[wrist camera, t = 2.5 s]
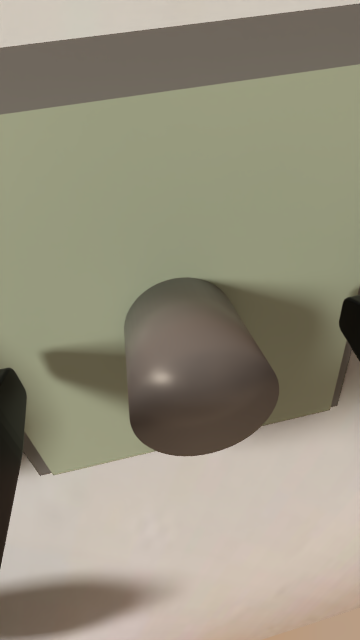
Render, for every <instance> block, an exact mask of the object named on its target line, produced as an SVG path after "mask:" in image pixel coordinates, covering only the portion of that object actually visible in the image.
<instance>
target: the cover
mask: <svg viewBox="0 0 360 640" xmlns="http://www.w3.org/2000/svg"><path fill="white" fill-rule="evenodd" d="M359 287H360V64H358V65H351V66H344V67H336V68H329V69H322V70H315V71H308V72H301V73H294V74H286V75H279V76H272V77H265V78H258V79H251V80H244V81H237V82H229V83H222V84H215V85H208V86H201V87H194V88H187V89H179V90H172V91H165V92H158V93H151V94H144V95H137V96H129V97H122V98H115V99H108V100H101V101H94V102H87V103H80V104H72V105H65V106H58V107H51V108H44V109H37V110H30V111H22V112H15V113H8V114H1V115H0V369H3V368H8V367H9V368H12V369H13V370H14V371H15V372H16V374H17V376H18V377H19V379H20V381H21V383H22V384H23V386H24V388H25V390H26V394H27V404H26V417H25V433H26V434H27V436H28V437H29V439H30V440H31V442H32V443H33V445H34V446H35V448H36V449H37V451H38V453H39V454H40V456H41V457H42V459H43V460H44V462H45V463H46V465H47V466H48V468H49V469H50V471H51V473H52V474H53V475H57V474H61V473H66V472H70V471H74V470H78V469H82V468H87V467H91V466H95V465H99V464H104V463H108V462H112V461H116V460H120V459H125V458H129V457H133V456H137V455H142V454H146V453H150V452H154V451H158V452H161V453H165V454H169V455H175V456H196V455H204V454H209V453H213V452H216V451H220V450H223V449H225V448H228V447H230V446H233V445H235V444H237V443H239V442H240V441H242V440H244V439H246V438H247V437H249V436H250V435H251V434H253V433H254V432H255V431H257V430H258V429H259V428H260V427H261V426H264V425H268V424H273V423H277V422H281V421H285V420H289V419H294V418H298V417H302V416H306V415H311V414H315V413H319V412H323V411H328V410H330V408H331V404H332V399H333V395H334V391H335V387H336V383H337V379H338V374H339V370H340V366H341V362H342V358H343V353H344V349H345V345H346V341H347V340H346V338H345V337H344V335H343V334H342V332H341V330H340V328H339V318H340V314H341V309H342V304H343V301H344V299H345V298H347V297H351V296H356V295H358V291H359Z"/></svg>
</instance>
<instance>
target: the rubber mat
mask: <svg viewBox="0 0 360 640" xmlns="http://www.w3.org/2000/svg"><path fill="white" fill-rule="evenodd" d="M358 64H360V4H353V5H345V6H337V7H329V8H321V9H313V10H304V11H296V12H288V13H280V14H272V15H264V16H256V17H247V18H239V19H231V20H223V21H215V22H207V23H199V24H190V25H182V26H174V27H166V28H158V29H150V30H142V31H133V32H125V33H117V34H109V35H101V36H93V37H85V38H76V39H68V40H60V41H52V42H44V43H36V44H28V45H20V46H11V47H3V48H0V115H1V114H8V113H15V112H22V111H30V110H37V109H44V108H51V107H58V106H65V105H72V104H80V103H87V102H94V101H101V100H108V99H115V98H122V97H129V96H137V95H144V94H151V93H158V92H165V91H172V90H179V89H187V88H194V87H201V86H208V85H215V84H222V83H229V82H237V81H244V80H251V79H258V78H265V77H272V76H279V75H286V74H294V73H301V72H308V71H315V70H322V69H329V68H336V67H344V66H351V65H358ZM358 295H360V287H359V291H358ZM351 350H352V348H351V346H350V345H349V343H348V342H347V341H346V345H345V349H344V353H343V358H342V362H341V366H340V370H339V374H338V379H337V383H336V387H335V391H334V395H333V399H332V404H331V407H333V406H337V405H338V401H339V397H340V393H341V389H342V385H343V381H344V378H345V374H346V370H347V366H348V362H349V358H350V354H351ZM23 452H24V453H25V455H26V456H27V458H28V459H29V461H30V462H31V463H32V465H33V466H34V468H35V469H36V471H37V472H38V473H39V475H40V476H41V475H45V474H49V473H51V471H50V469H49V468H48V466H47V465H46V463H45V462H44V460H43V459H42V457H41V456H40V454H39V453H38V451H37V449H36V448H35V446H34V445H33V443H32V442H31V440H30V439H29V437H28V436H27V434H26V433H25V431H24V444H23Z"/></svg>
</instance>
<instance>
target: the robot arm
mask: <svg viewBox="0 0 360 640" xmlns="http://www.w3.org/2000/svg"><path fill="white" fill-rule="evenodd" d="M339 328H340V330H341V332H342V334H343V335H344V337H345V338H346V340H347V342H348V343H349V345H350V346H351V348H352V350H353V351H354V353H355V354H356V356H357V358H358V359H359V361H360V295H356V296H351V297H347V298H345V299H344V301H343V304H342V309H341V314H340V318H339ZM26 404H27V394H26V390H25V388H24V386H23V384H22V383H21V381H20V379H19V377H18V376H17V374H16V372H15V371H14V370H13V369H12V368H9V367H8V368H3V369H0V567H1V562H2V557H3V552H4V547H5V542H6V537H7V531H8V526H9V521H10V516H11V511H12V506H13V501H14V495H15V490H16V485H17V480H18V475H19V470H20V465H21V459H22V453H23V444H24V431H25V417H26Z"/></svg>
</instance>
